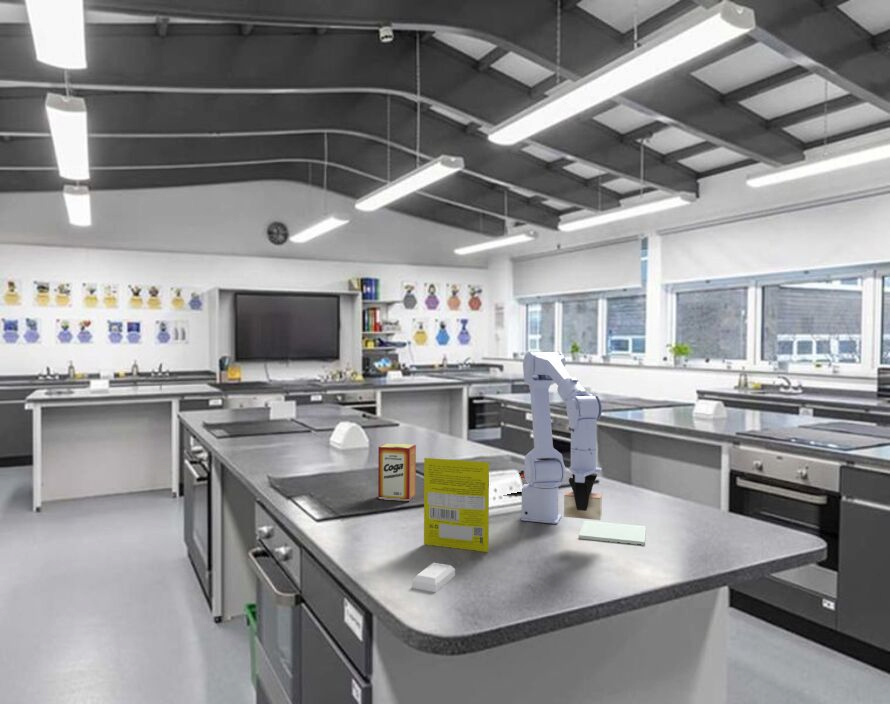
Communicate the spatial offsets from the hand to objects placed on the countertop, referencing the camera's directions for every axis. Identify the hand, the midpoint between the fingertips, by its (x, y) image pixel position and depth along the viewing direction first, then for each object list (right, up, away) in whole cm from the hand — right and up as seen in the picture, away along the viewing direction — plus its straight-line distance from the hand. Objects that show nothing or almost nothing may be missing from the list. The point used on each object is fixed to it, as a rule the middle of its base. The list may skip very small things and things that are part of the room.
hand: (582, 507), depth 143 cm
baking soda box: (-46, -8, +43) cm, 63 cm away
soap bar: (-34, -10, -21) cm, 41 cm away
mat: (+10, -9, +10) cm, 16 cm away
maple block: (0, -2, 0) cm, 2 cm away
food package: (-29, -9, -2) cm, 31 cm away
